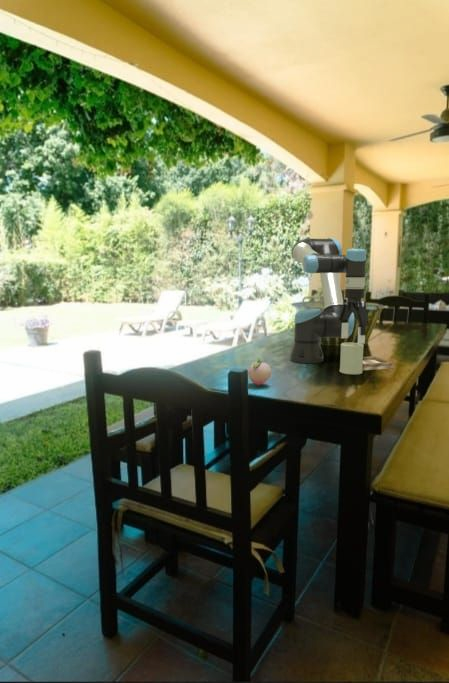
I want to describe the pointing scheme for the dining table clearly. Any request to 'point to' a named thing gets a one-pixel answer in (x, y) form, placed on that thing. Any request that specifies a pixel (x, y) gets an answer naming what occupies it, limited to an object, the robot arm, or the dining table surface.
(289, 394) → the dining table surface
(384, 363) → the coaster board
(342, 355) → the can
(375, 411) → the dining table surface
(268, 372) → the decorative fruit
